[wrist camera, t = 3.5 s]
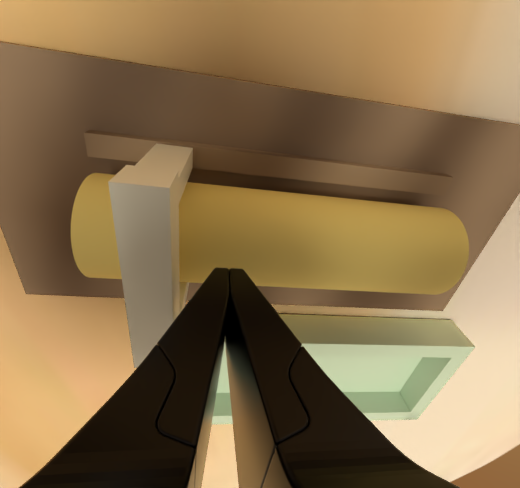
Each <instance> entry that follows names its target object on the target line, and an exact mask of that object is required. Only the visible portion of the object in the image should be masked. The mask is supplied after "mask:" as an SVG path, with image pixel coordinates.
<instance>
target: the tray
mask: <svg viewBox="0 0 520 488" xmlns="http://www.w3.org/2000/svg"><path fill="white" fill-rule="evenodd" d="M279 316H280V317H281V318H282V319H283V321H284V322H285V323H286V325H287V326H288V327H289V328H290V330H291V331H292V332H293V334H294V335H295V336H296V337H297V339H298V340H299V341H300V343H301V344H302V346H303V347H304V348H305V349H306V350H307V351H308V353H309V354H310V355H311V357H312V358H313V359H314V360H315V361H316V363H317V364H318V365H319V366H320V367H321V369H322V370H323V371H324V372H325V374H326V375H327V376H328V377H329V378H330V379H331V380H332V381H333V382H334V383H335V384H336V386H337V387H338V388H339V389H340V390H341V391H342V392H343V393H344V394H345V395H346V396H347V397H348V398H349V399H350V401H351V402H352V403H353V404H354V405H355V406H356V407H357V408H358V409H359V410H360V411H361V412H362V413H363V414H364V415H365V416H366V417H367V418H368V419H369V420H370V421H371V420H412V419H418V418H419V417H420V415H421V414H422V413H423V412H424V410H425V409H426V408H427V407H428V405H429V404H430V403H431V402H432V400H433V399H434V398H435V397H436V395H437V394H438V393H439V392H440V390H441V389H442V388H443V387H444V385H445V384H446V383H447V382H448V380H449V379H450V378H451V377H452V375H453V374H454V373H455V372H456V370H457V369H458V368H459V367H460V365H461V364H462V363H463V362H464V360H465V359H466V358H467V357H468V355H469V354H470V353H471V352H472V350H473V349H474V348H475V346H474V345H473V344H472V343H471V341H470V340H469V339H468V338H467V337H466V336H465V335H464V334H463V332H462V331H461V330H460V329H459V328H458V327H457V326H456V325H455V323H454V322H453V321H452V320H441V319H412V318H384V317H356V316H327V315H299V314H279ZM212 424H233V420H232V410H231V399H230V389H229V379H228V368H227V358H226V346H225V343H224V350H223V357H222V363H221V369H220V375H219V381H218V387H217V393H216V400H215V406H214V412H213V418H212Z"/></svg>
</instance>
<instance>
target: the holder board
mask: <svg viewBox="0 0 520 488" xmlns="http://www.w3.org/2000/svg"><path fill="white" fill-rule="evenodd" d="M156 144H165V145H173V146H181V147H190V148H193V168H192V171H191V173H190V176H189V179H188V181H187V182H191V183H201V184H211V185H221V186H230V187H240V188H250V189H260V190H270V191H279V192H289V193H299V194H309V195H318V196H328V197H338V198H348V199H358V200H367V201H377V202H387V203H397V204H407V205H416V206H426V207H436V208H444V209H447V210H449V211H451V212H453V213H454V214H455V215H456V216H457V217H458V218H459V219H460V220H461V222H462V223H463V225H464V227H465V229H466V232H467V236H468V240H469V256H468V262H467V266H466V268H465V271H464V273H463V275H462V277H461V278H460V280H459V281H458V282H457V284H456V285H455V286H454V287H452V288H451V289H450V290H448V291H446V292H444V293H441V294H437V295H430V294H410V293H390V292H370V291H350V290H330V289H310V288H289V287H269V286H257V287H258V289H259V290H260V291H261V292H262V294H263V295H264V296H265V298H266V299H267V300H268V301H269V303H270V304H284V305H309V306H334V307H359V308H383V309H408V310H433V311H443V310H444V308H445V307H446V305H447V304H448V302H449V301H450V299H451V297H452V296H453V294H454V293H455V291H456V290H457V288H458V287H459V285H460V284H461V282H462V281H463V279H464V277H465V276H466V274H467V273H468V271H469V270H470V268H471V267H472V265H473V264H474V262H475V260H476V259H477V257H478V256H479V254H480V253H481V251H482V250H483V248H484V247H485V245H486V243H487V242H488V240H489V239H490V237H491V236H492V234H493V233H494V231H495V230H496V228H497V227H498V225H499V223H500V222H501V220H502V219H503V217H504V216H505V214H506V213H507V211H508V210H509V208H510V206H511V205H512V203H513V202H514V200H515V199H516V197H517V196H518V194H519V193H520V125H519V124H512V123H506V122H500V121H494V120H487V119H481V118H475V117H469V116H462V115H456V114H450V113H444V112H437V111H431V110H425V109H419V108H412V107H406V106H400V105H394V104H388V103H381V102H375V101H369V100H363V99H356V98H350V97H344V96H338V95H331V94H325V93H319V92H313V91H306V90H300V89H294V88H288V87H281V86H275V85H269V84H263V83H256V82H250V81H244V80H238V79H231V78H225V77H219V76H213V75H206V74H200V73H194V72H188V71H182V70H175V69H169V68H163V67H157V66H150V65H144V64H138V63H132V62H125V61H119V60H113V59H107V58H100V57H94V56H88V55H82V54H75V53H69V52H63V51H57V50H50V49H44V48H38V47H32V46H25V45H19V44H13V43H7V42H1V41H0V226H1V229H2V231H3V234H4V237H5V239H6V242H7V245H8V247H9V250H10V253H11V255H12V258H13V261H14V263H15V266H16V269H17V271H18V274H19V277H20V279H21V282H22V285H23V287H24V290H25V293H26V294H37V295H62V296H87V297H111V298H124V291H123V284H122V279H108V278H90V277H86V276H85V275H83V274H82V273H81V271H80V270H79V268H78V267H77V264H76V262H75V259H74V256H73V251H72V245H71V217H72V210H73V205H74V201H75V198H76V195H77V192H78V190H79V187H80V186H81V184H82V182H83V181H84V180H85V178H86V177H87V176H89V175H90V174H92V173H103V174H113V175H116V174H117V173H118V172H119V171H120V170H121V169H123V168H124V167H125V166H126V165H133V166H135V165H136V164H137V163H138V162H139V161H140V160H141V159H142V158H143V157H144V156H145V155H146V154H147V153H148V152H149V151H150V150H151V149H152V148H153V147H154V146H155V145H156ZM202 284H203V283H189V287H188V293H187V298H186V301H190V299H191V298H192V297H193V295H194V294H195V293H196V291H197V290H198V289H199V288H200V286H201V285H202Z"/></svg>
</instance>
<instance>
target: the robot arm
mask: <svg viewBox="0 0 520 488" xmlns="http://www.w3.org/2000/svg"><path fill="white" fill-rule="evenodd" d="M224 343H225V346H226V358H227V368H228V379H229V389H230V399H231V410H232V420H233V430H234V441H235V451H236V461H237V472H238V482H239V488H460V487H458V486H456V485H454V484H452V483H450V482H448V481H446V480H444V479H442V478H440V477H438V476H436V475H435V474H433V473H431V472H429V471H427V470H425V469H424V468H422V467H421V466H419V465H417V464H416V463H415V462H413V461H412V460H411V459H409V458H408V457H407V456H405V455H404V454H403V453H402V452H401V451H400V450H398V449H397V448H396V447H395V446H394V445H393V444H392V443H391V442H390V441H389V440H388V439H387V438H386V437H385V436H384V435H383V434H382V433H381V432H380V431H379V430H378V429H377V428H376V427H375V426H374V425H373V423H372V422H371V421H370V420H369V419H368V418H367V417H366V416H365V415H364V414H363V413H362V412H361V411H360V410H359V409H358V408H357V407H356V406H355V405H354V404H353V403H352V402H351V401H350V399H349V398H348V397H347V396H346V395H345V394H344V393H343V392H342V391H341V390H340V389H339V388H338V387H337V386H336V384H335V383H334V382H333V381H332V380H331V379H330V378H329V377H328V376H327V375H326V374H325V372H324V371H323V370H322V369H321V367H320V366H319V365H318V364H317V363H316V361H315V360H314V359H313V358H312V357H311V355H310V354H309V353H308V351H307V350H306V349H305V348H304V347H303V346H302V344H301V343H300V341H299V340H298V339H297V337H296V336H295V335H294V334H293V332H292V331H291V330H290V328H289V327H288V326H287V325H286V323H285V322H284V321H283V319H282V318H281V317H280V316H279V314H278V313H277V312H276V310H275V309H274V308H273V307H272V305H271V304H270V303H269V301H268V300H267V299H266V298H265V296H264V295H263V294H262V292H261V291H260V290H259V289H258V287H257V286H256V285H255V284H254V282H253V281H252V280H251V278H250V277H249V276H248V275H247V273H246V272H245V271H244V270H243V269H238V268H230V269H228V268H220V267H216V268H214V269H213V271H212V272H211V273H210V274H209V276H208V277H207V278H206V280H205V281H204V282H203V284H202V285H201V286H200V288H199V289H198V290H197V291H196V293H195V294H194V295H193V297H192V298H191V299H190V301H189V302H188V303H187V304H186V306H185V307H184V308H183V310H182V311H181V312H180V314H179V315H178V316H177V318H176V319H175V320H174V321H173V323H172V324H171V325H170V327H169V328H168V329H167V331H166V332H165V333H164V335H163V336H162V337H161V338H160V340H159V341H158V342H157V345H155V346H154V347H153V349H152V350H151V351H150V353H149V354H148V355H147V356H146V358H145V359H144V360H143V361H142V363H141V364H140V365H139V366H138V368H137V369H136V370H135V371H134V372H133V374H132V375H131V376H130V377H129V378H128V379H127V380H126V381H125V383H124V384H123V385H122V386H121V387H120V388H119V389H118V390H117V391H116V392H115V393H114V395H113V396H112V397H111V398H110V399H109V400H108V401H107V402H106V403H105V404H104V405H103V406H102V407H101V408H100V409H99V410H98V411H97V412H96V413H95V414H94V415H93V416H92V417H91V419H90V420H89V421H88V422H87V423H86V424H85V425H84V426H83V427H82V428H81V429H80V430H79V431H78V432H77V433H76V434H75V435H74V436H73V437H72V438H71V439H70V440H69V441H68V442H67V444H66V445H65V446H64V447H63V448H62V449H61V450H60V451H59V452H58V453H57V454H56V455H55V456H54V457H53V458H52V459H51V460H50V461H49V462H48V463H47V464H46V465H45V466H44V467H43V468H42V469H40V470H39V471H38V472H37V473H36V474H35V475H34V476H33V477H31V478H30V479H29V480H28V481H27V482H25V483H24V484H23V485H22V486H20V487H19V488H201V486H202V479H203V473H204V467H205V461H206V455H207V449H208V443H209V436H210V430H211V424H212V418H213V412H214V406H215V400H216V393H217V387H218V381H219V375H220V369H221V363H222V357H223V350H224Z"/></svg>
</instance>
